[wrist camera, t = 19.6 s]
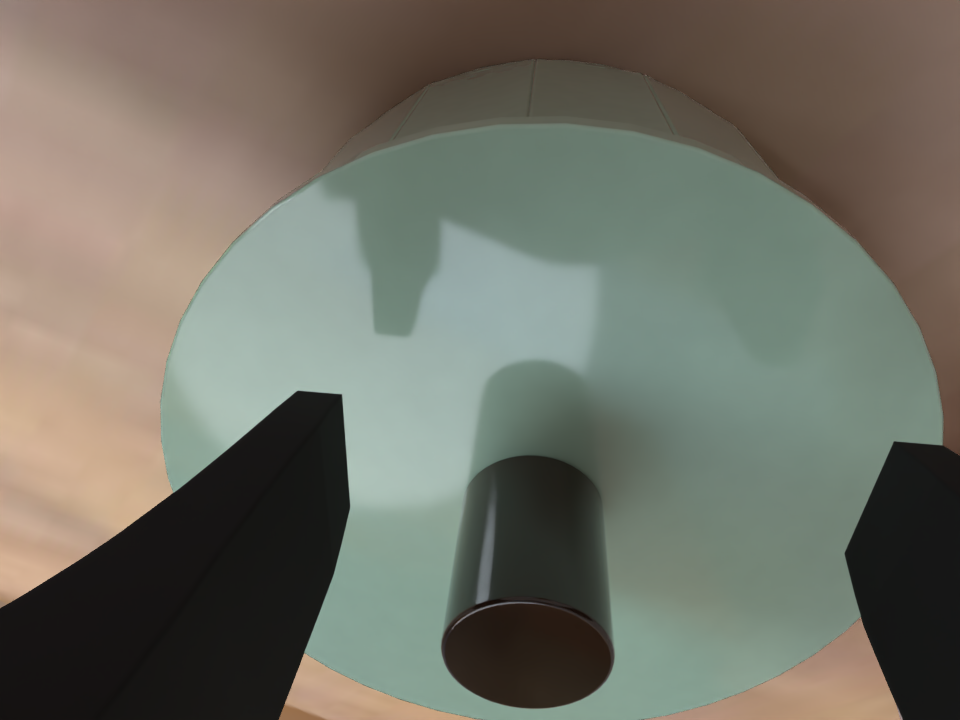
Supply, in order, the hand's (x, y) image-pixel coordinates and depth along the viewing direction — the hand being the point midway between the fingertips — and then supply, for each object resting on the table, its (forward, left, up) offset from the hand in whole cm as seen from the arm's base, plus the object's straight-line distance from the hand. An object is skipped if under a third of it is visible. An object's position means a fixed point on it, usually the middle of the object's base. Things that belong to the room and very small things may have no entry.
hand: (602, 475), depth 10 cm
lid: (0, -3, -3) cm, 4 cm away
